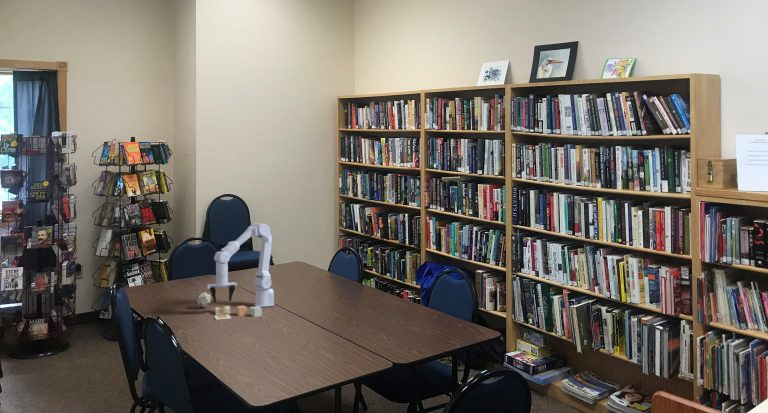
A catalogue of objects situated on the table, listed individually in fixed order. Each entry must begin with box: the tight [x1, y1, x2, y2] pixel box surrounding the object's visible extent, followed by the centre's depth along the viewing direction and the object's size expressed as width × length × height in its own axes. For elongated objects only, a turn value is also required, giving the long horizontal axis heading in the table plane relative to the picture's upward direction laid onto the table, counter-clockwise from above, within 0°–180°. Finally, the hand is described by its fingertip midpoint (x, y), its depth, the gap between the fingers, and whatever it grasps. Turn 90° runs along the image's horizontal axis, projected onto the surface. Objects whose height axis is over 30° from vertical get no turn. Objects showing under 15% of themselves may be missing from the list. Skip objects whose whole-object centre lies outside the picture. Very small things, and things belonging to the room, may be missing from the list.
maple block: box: [214, 305, 231, 316], centre depth 313 cm, size 7×7×3 cm
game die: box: [195, 291, 213, 309], centre depth 323 cm, size 9×8×10 cm
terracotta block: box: [235, 305, 248, 317], centre depth 309 cm, size 4×5×4 cm
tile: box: [213, 314, 232, 321], centre depth 303 cm, size 7×7×1 cm
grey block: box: [249, 306, 263, 318], centre depth 307 cm, size 4×5×4 cm
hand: (222, 301), depth 313 cm, fingers open, 7 cm apart
